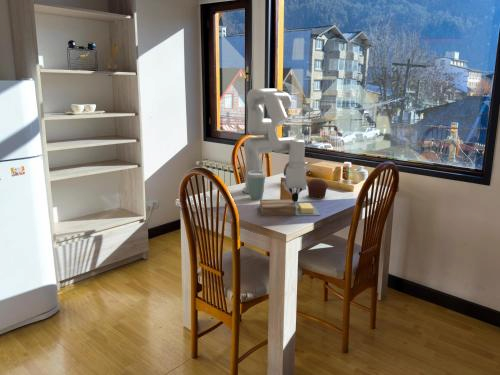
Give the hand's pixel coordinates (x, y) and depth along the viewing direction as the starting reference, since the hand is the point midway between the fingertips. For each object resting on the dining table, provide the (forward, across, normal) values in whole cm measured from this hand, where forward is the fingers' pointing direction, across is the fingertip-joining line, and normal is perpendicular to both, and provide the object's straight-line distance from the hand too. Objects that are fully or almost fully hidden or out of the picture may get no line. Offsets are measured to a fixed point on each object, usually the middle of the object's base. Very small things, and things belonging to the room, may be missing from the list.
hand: (294, 201), depth 207 cm
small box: (+5, 0, -19) cm, 20 cm away
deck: (+5, +9, 0) cm, 10 cm away
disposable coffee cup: (+5, +18, -23) cm, 30 cm away
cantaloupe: (+5, -10, -55) cm, 56 cm away
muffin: (+5, -17, -26) cm, 32 cm away
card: (+2, -6, +1) cm, 6 cm away
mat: (+5, -5, 0) cm, 7 cm away
